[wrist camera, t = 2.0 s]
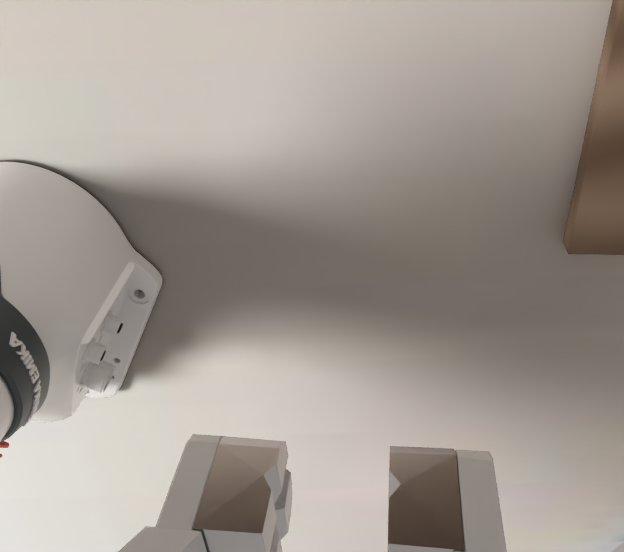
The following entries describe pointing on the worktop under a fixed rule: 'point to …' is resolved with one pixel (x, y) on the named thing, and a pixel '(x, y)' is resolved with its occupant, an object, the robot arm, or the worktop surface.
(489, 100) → the worktop surface
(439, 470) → the robot arm
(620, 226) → the latch base
